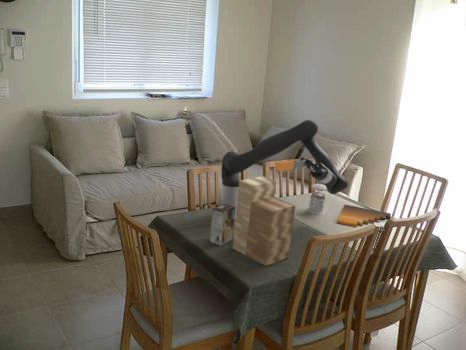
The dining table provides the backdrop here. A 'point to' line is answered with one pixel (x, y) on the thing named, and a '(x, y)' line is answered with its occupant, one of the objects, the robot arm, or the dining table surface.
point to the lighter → (378, 234)
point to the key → (289, 164)
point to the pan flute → (359, 215)
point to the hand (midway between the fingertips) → (303, 160)
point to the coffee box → (222, 224)
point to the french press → (317, 200)
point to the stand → (262, 221)
